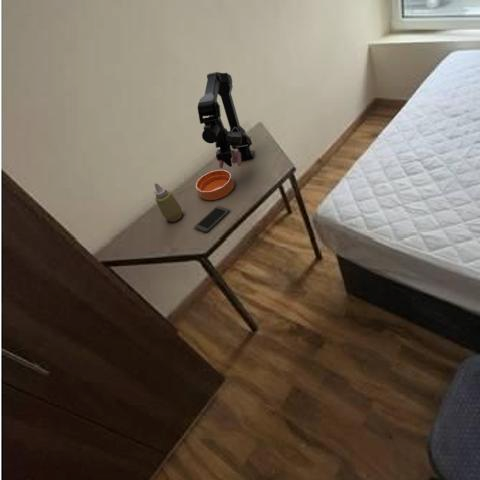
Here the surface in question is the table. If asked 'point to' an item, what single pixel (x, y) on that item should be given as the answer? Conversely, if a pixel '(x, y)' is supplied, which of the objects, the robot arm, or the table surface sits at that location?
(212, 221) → the cell phone
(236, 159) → the video game controller
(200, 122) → the robot arm
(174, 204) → the squeeze bottle
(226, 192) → the orange mixing bowl
